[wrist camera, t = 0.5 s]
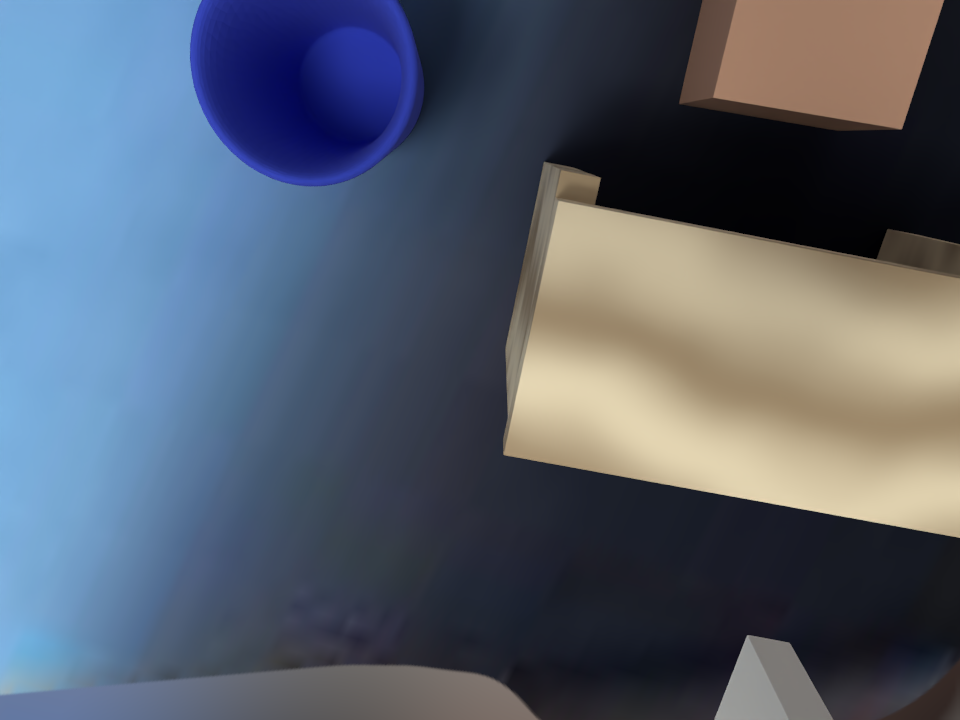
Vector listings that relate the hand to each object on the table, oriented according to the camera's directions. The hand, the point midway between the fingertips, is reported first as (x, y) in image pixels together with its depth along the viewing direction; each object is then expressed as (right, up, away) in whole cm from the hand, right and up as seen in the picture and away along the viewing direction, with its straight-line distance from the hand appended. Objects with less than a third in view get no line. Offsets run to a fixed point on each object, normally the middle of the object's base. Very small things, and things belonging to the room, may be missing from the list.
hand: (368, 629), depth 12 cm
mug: (-5, +20, +22) cm, 30 cm away
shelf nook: (+14, +8, +25) cm, 30 cm away
